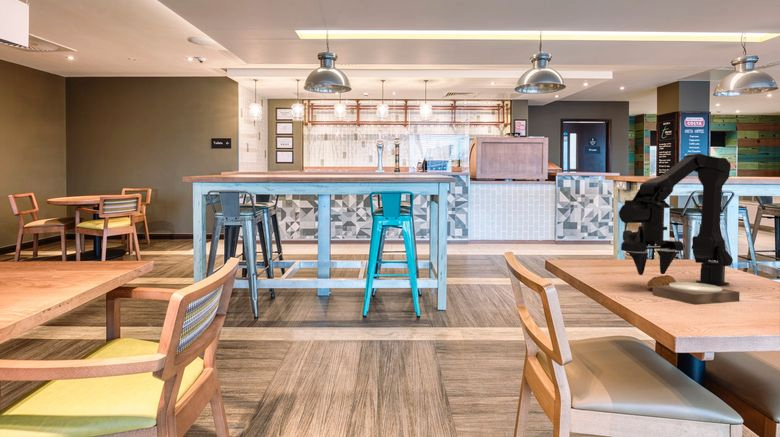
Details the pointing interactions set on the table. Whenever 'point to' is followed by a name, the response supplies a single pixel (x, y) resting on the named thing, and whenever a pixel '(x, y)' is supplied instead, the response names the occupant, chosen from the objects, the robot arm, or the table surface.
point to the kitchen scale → (695, 293)
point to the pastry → (660, 281)
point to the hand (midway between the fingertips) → (651, 274)
